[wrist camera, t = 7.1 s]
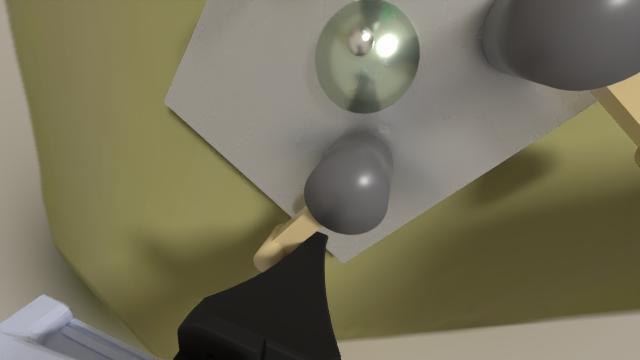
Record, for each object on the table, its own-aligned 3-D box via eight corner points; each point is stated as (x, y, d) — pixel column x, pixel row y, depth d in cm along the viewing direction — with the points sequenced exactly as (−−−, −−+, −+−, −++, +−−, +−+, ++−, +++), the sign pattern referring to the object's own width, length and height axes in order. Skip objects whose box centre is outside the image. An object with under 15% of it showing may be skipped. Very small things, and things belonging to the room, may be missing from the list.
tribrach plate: (750, -20, 8) (860, -41, 6) (347, 250, 17) (339, 276, 15) (433, -447, 6) (443, -654, 5) (179, 98, 16) (147, 106, 14)
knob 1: (359, 117, 12) (341, 143, 9) (408, 166, 12) (407, 207, 9) (267, 209, 16) (234, 249, 13) (306, 244, 16) (282, 290, 13)
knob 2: (462, 32, 9) (487, 25, 6) (559, -63, 8) (657, -133, 5) (596, 179, 10) (677, 237, 7) (710, 121, 9) (879, 164, 6)
